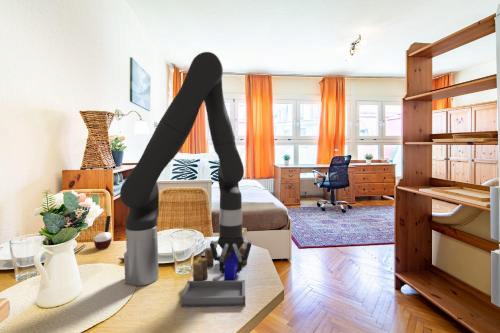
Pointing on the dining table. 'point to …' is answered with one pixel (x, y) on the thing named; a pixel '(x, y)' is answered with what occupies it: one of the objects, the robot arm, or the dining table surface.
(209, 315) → the dining table surface
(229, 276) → the cable clip
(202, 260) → the spacer
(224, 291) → the tray
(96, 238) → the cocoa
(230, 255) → the spacer
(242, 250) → the spacer
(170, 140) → the robot arm
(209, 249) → the block
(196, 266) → the spacer
